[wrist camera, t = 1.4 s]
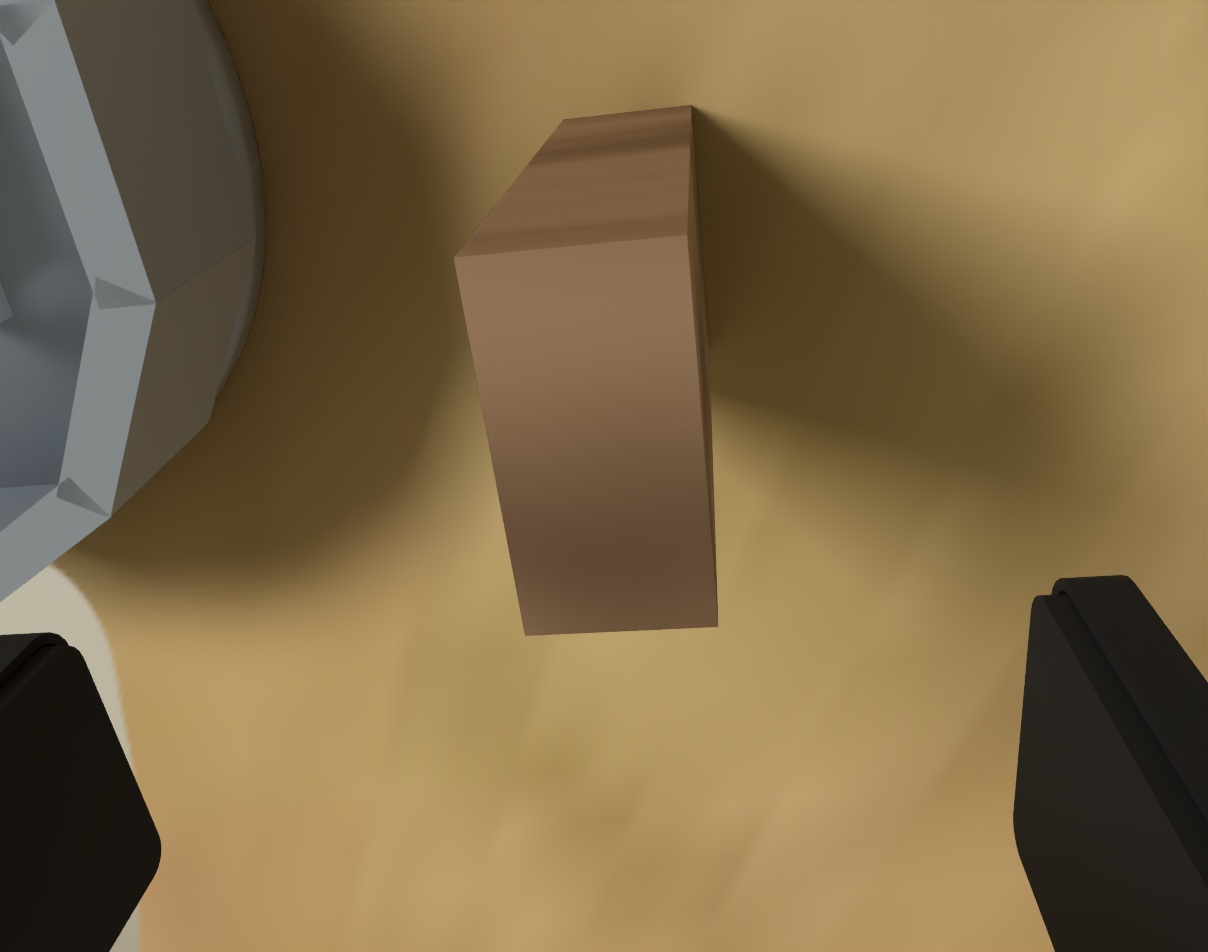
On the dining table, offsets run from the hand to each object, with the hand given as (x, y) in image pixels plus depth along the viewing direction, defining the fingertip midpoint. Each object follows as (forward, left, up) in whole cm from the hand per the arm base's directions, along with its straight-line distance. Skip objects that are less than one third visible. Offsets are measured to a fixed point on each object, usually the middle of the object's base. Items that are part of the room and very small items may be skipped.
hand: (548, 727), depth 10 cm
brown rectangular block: (0, 0, -17) cm, 17 cm away
